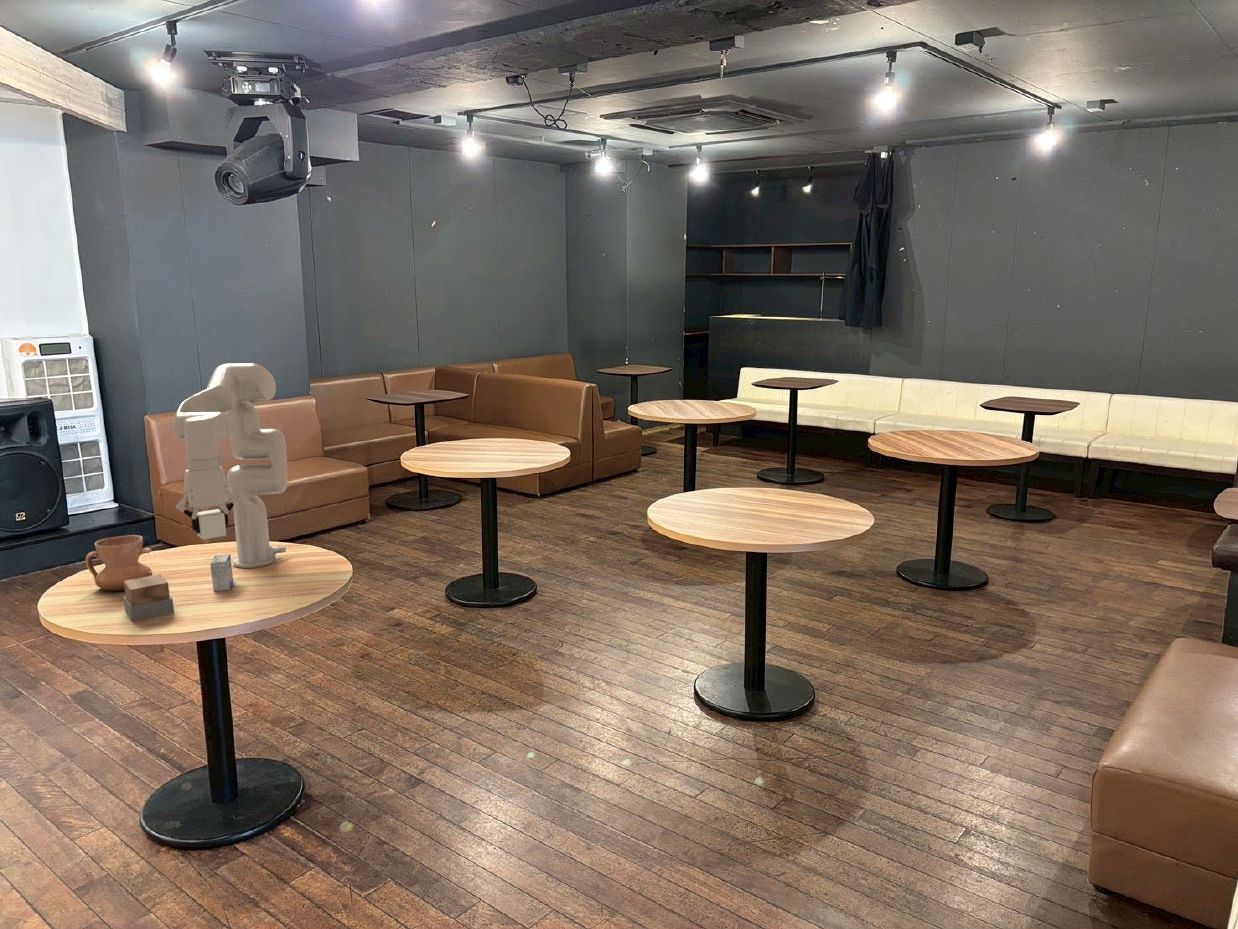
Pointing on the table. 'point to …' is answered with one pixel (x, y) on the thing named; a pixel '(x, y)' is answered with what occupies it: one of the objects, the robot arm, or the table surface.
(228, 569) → the medicine box
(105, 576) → the ceramic jug
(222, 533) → the cream cube
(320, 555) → the table surface
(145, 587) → the tower top block
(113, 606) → the table surface
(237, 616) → the table surface
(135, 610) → the tower base block
